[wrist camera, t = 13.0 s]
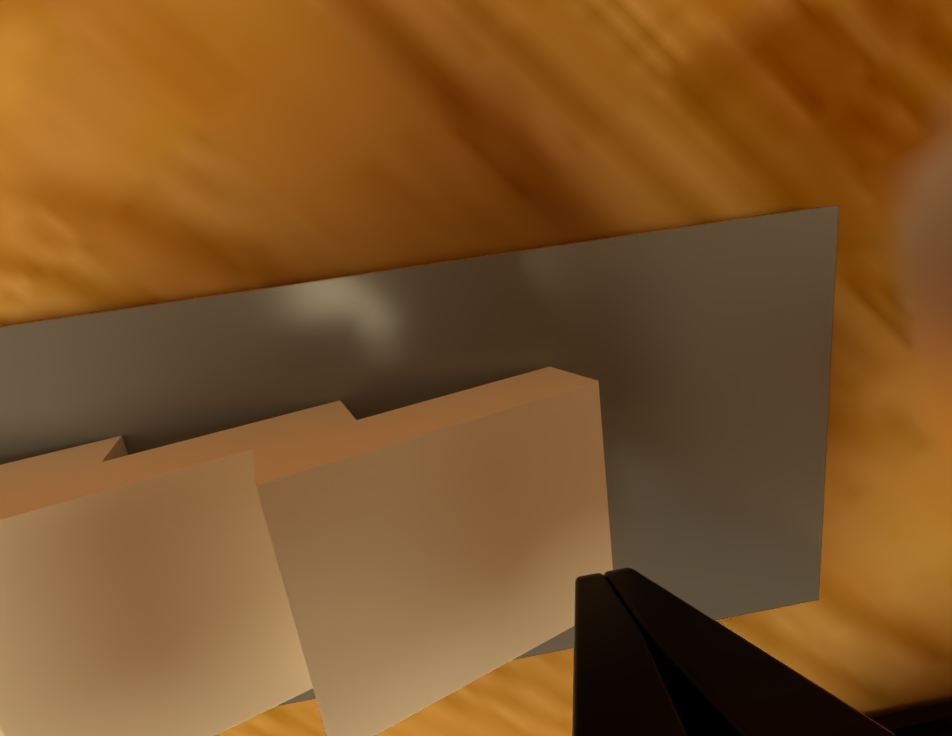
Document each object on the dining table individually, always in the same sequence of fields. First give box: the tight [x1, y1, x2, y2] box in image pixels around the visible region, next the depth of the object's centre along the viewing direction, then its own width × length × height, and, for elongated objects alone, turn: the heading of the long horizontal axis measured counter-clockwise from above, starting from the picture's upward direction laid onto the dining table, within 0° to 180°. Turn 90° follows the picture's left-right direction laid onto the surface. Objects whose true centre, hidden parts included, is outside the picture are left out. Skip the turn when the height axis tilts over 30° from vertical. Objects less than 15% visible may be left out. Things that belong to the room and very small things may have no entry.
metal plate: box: [0, 205, 839, 706], centre depth 11 cm, size 31×10×1 cm, turn 98°
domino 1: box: [0, 400, 356, 736], centre depth 9 cm, size 2×5×6 cm
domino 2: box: [253, 367, 613, 736], centre depth 9 cm, size 2×5×6 cm
